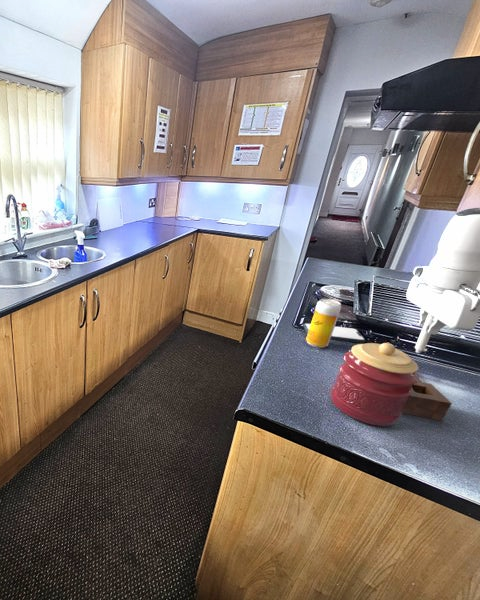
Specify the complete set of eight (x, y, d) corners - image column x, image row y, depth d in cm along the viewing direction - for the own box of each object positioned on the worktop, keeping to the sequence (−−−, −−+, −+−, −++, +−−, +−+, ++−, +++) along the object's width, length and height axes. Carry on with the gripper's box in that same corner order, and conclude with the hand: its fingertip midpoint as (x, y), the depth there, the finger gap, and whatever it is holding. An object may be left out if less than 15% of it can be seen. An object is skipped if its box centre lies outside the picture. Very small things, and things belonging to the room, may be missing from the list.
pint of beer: (305, 337, 110) (318, 296, 104) (327, 342, 107) (342, 300, 101) (304, 345, 106) (318, 303, 100) (327, 350, 103) (342, 307, 97)
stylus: (420, 351, 85) (440, 301, 80) (424, 354, 84) (445, 304, 78) (411, 350, 86) (431, 301, 81) (415, 353, 84) (435, 303, 79)
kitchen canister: (326, 383, 86) (348, 324, 79) (390, 400, 80) (419, 338, 73) (331, 414, 76) (356, 350, 69) (405, 436, 70) (441, 368, 63)
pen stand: (422, 400, 81) (431, 383, 79) (442, 420, 75) (452, 403, 73) (385, 393, 83) (392, 377, 82) (401, 412, 77) (409, 395, 75)
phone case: (308, 338, 111) (365, 345, 106) (309, 333, 110) (367, 340, 105) (301, 326, 119) (354, 332, 114) (302, 322, 118) (356, 328, 113)
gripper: (504, 295, 67) (473, 352, 72) (441, 268, 85) (419, 316, 90) (464, 291, 69) (437, 347, 74) (410, 265, 87) (391, 312, 92)
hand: (427, 330), depth 82 cm, fingers closed on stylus, 2 cm apart
